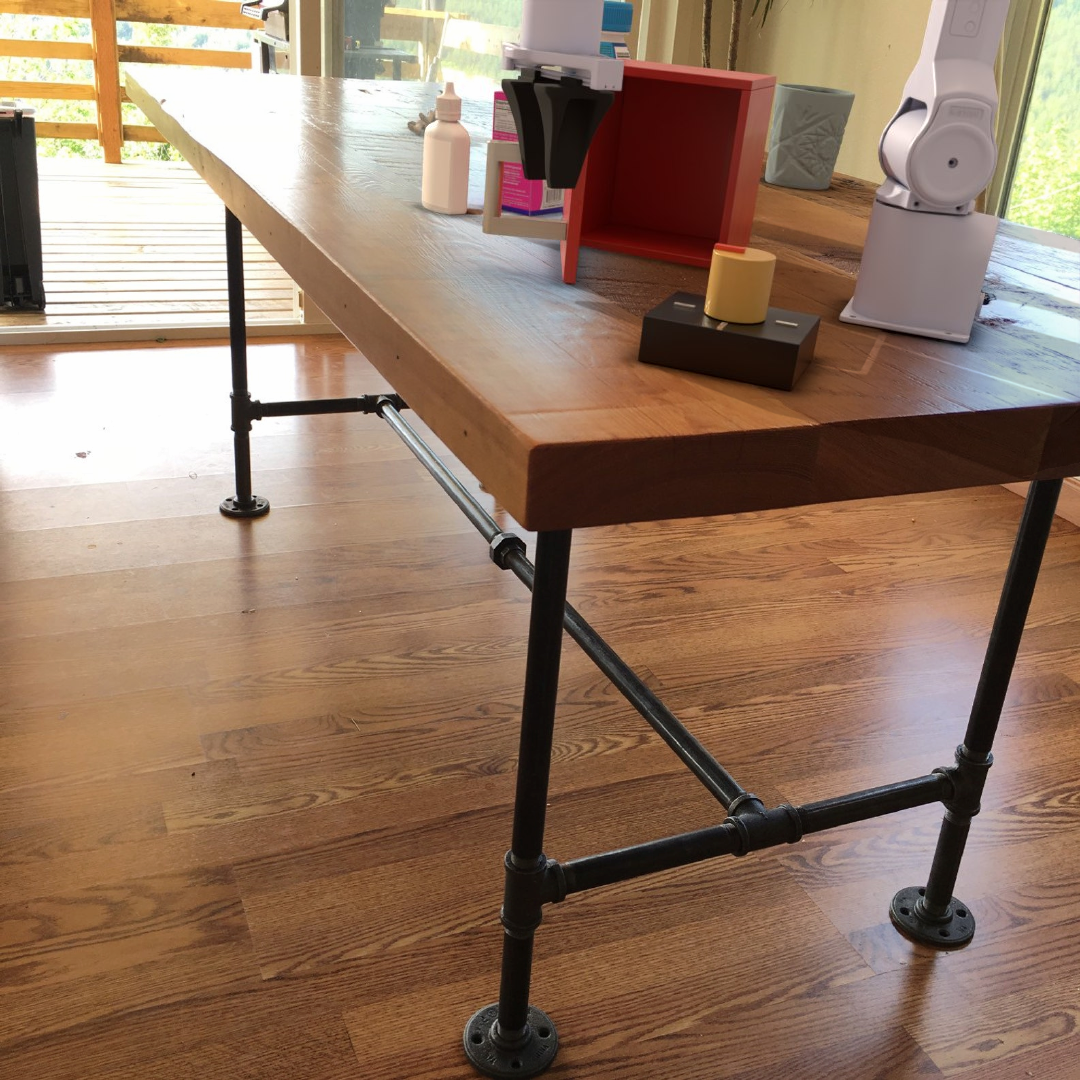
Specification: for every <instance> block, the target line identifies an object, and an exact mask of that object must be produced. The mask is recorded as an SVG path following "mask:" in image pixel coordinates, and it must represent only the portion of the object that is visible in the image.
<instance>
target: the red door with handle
mask: <svg viewBox="0 0 1080 1080" xmlns="http://www.w3.org/2000/svg"><path fill="white" fill-rule="evenodd" d="M575 75H576V74H575ZM486 145H487V148H486V165H485V178H484V195H483V211H482V233H483V234H486V235H492V236H501V237H515V238H525V239H538V240H548V241H549V240H550V241H559V250H560V263H561V265H560V266H561V276H562V283H563V284H571V285H575V284H576V281H577V271H578V262H579V261H578V260H579V251H580V246H579V242H580V232H581V222H582V212H583V201H584V191H585V181H586V171H587V161H588V152H587V155H586V158H585V161H584V164H583V167H582V170H581V173H580V176H579V179H578V182H577V185H576V187H575V189H565V193H564V204H563V212H562V216H561V219H559V218H547V217H536V216H526V215H513V214H502V209H501V207H502V192H503V177H504V162H511V163H522V161H521V155H520V148H519V142H513V141H502V140H492V139H489V140H487V144H486ZM588 151H589V149H588Z"/></svg>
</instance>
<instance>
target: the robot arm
mask: <svg viewBox="0 0 1080 1080" xmlns="http://www.w3.org/2000/svg"><path fill="white" fill-rule="evenodd" d="M1010 5H1011V0H932V1H931V5H930V10H929V13H928V18H927V22H926V27H925V31H924V37H923V41H922V44H921V45H922V46H921V50H920V54H919V57H918V60H917V63H916V64H915V67H914V68H913V69H912V71H911V73H910V75H909V77H908V79H907V80H906V83H905V84H904V87H903V92H902V96H901V99H900V104H899V106H898V108H897V110H896V112H895V113H894V115H893V116H892V117H891V119H890V120H889V121H888V123H887V124H886V125H885V127H884V129H883V131H882V133H881V135H880V138H879V142H878V149H877V155H878V162H879V166H880V168H881V170H882V172H883V174H884V175H885V179H884V181H883V182H882V184H881V185H880V186H879V187H878V188H876V190H875V193H874V198H873V203H872V208H871V212H870V217H869V222H868V225H867V231H866V236H865V241H864V246H863V250H862V255H861V260H860V265H859V270H858V274H857V279H856V284H855V288H854V293H853V296H852V297H851V298H850V299H849V301H848V303H847V304H846V305H845V307H844V308H843V310H842V311H841V312H840V314H839V317H838V320H839V321H840V322H843V323H850V324H855V325H860V326H866V327H871V328H877V329H881V330H888V331H893V332H900V333H905V334H910V335H916V336H921V337H928V338H932V339H933V338H934V339H939V340H945V341H950V342H954V343H962V344H967V343H968V342H969V340H970V335H971V331H972V328H973V324H974V320H975V318H979V317H980V315H981V312H982V308H983V304H984V301H985V297H986V293H985V292H982V289H983V286H984V282H985V278H986V275H987V271H988V267H989V263H990V259H991V255H992V251H993V249H994V248H993V247H994V243H995V239H996V237H997V232H998V229H999V228H998V227H999V224H1000V220H1001V218H1000V217H999V216H996V215H991V214H984V213H979V212H976V211H974V210H975V207H976V202H977V201H976V200H975V199H976V198H977V197H978V196H979V195H980V194H982V193H983V191H984V190H985V189H986V188H987V187H988V185H989V184H990V182H991V181H992V179H993V176H994V175H995V173H996V168H997V166H998V157H999V156H998V155H999V153H998V151H999V150H998V145H997V140H996V136H995V119H996V115H997V111H998V107H999V95H998V90H997V83H996V77H995V72H994V69H995V68H994V67H995V64H996V60H997V55H998V52H999V47H1000V44H1001V40H1002V36H1003V32H1004V28H1005V24H1006V20H1007V16H1008V11H1009V8H1010ZM603 8H604V0H522V10H521V27H520V42H507V41H503V42H502V49H501V66H500V67H501V68H500V69H501V70H503V71H512V72H514V71H516V72H520V75H517V78H502V79H501V81H500V83H501V84H500V87H501V91H503V92H504V94H505V96H506V99H507V101H508V103H509V106H510V109H511V112H512V115H513V118H514V122H515V126H516V131H517V136H518V141H519V148H520V155H521V161H522V167H523V173H524V178H525V179H527V180H546V181H547V187H548V188H551V189H575V187H576V185H577V182H578V179H579V176H580V173H581V170H582V167H583V164H584V161H585V158H586V155H587V152H588V149H589V146H590V144H591V141H592V139H593V136H594V134H595V132H596V130H597V128H598V126H599V124H600V122H601V121H602V119H603V117H604V116H605V114H606V113H607V111H608V110H609V108H610V107H611V105H612V104H613V103H614V96H615V93H614V92H610V91H606V90H613V91H621V90H622V80H623V70H624V60H618V59H614V58H611V57H608V56H605V55H603V54H599V52H600V41H601V30H602V19H603ZM544 67H553V68H555V67H561V68H560V69H561V70H560V71H559V70H554V69H551V68H550V69H549V68H544ZM564 72H569V73H575V74H576V75H574V74H569V73H564Z"/></svg>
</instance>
